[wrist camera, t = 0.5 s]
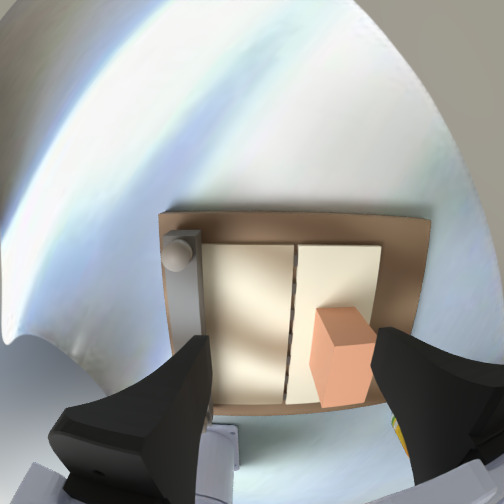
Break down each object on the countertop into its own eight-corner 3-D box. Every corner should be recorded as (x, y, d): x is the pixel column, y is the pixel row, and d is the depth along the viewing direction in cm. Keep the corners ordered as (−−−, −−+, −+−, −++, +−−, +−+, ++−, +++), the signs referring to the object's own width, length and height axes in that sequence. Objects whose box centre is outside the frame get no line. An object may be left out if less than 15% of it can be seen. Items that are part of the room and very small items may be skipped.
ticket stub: (349, 395, 22) (367, 437, 17) (285, 401, 22) (292, 447, 17) (379, 245, 19) (418, 268, 13) (297, 244, 19) (316, 269, 13)
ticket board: (382, 393, 24) (400, 425, 19) (185, 402, 24) (176, 440, 19) (421, 217, 20) (459, 229, 15) (164, 211, 20) (138, 222, 15)
